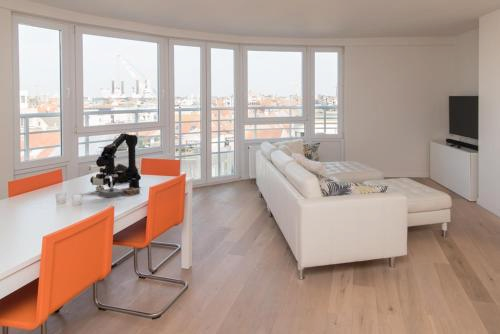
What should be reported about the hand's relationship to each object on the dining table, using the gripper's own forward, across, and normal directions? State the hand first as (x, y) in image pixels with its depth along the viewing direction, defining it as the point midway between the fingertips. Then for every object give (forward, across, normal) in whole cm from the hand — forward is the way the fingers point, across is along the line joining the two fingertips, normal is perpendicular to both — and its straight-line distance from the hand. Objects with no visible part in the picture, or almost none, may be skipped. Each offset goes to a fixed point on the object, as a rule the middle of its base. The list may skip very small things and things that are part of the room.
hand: (111, 187), depth 297 cm
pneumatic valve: (+6, 0, -18) cm, 19 cm away
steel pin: (+4, 0, 0) cm, 5 cm away
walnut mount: (+6, -12, +5) cm, 14 cm away
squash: (+6, -28, -38) cm, 48 cm away
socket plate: (+6, 0, 0) cm, 6 cm away
